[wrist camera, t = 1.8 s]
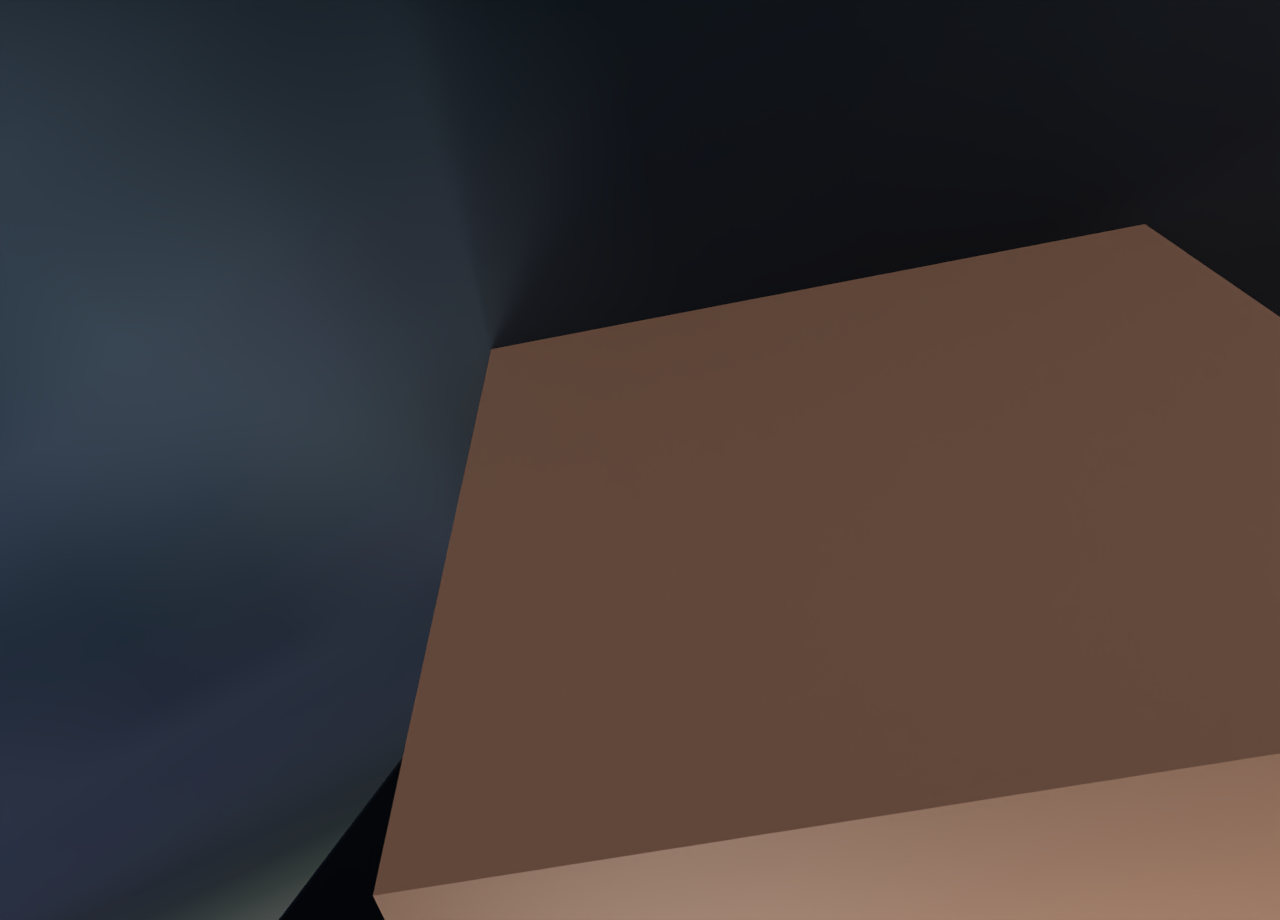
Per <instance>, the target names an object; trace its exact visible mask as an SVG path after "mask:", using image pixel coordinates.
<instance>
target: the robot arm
mask: <svg viewBox="0 0 1280 920" xmlns="http://www.w3.org/2000/svg"><path fill="white" fill-rule="evenodd" d="M402 759H403V757H402V758H401V760H400V761H399V762H398V764H397V765H396V766H395V768H394V769H393V770H392V772H391V773H390V774H389V776H388V777H387V778H386V780H385V781H384V782H383V783H382V785H381V786H380V787H379V789H378V790H377V791H376V793H375V794H374V795H373V797H372V798H371V799H370V801H369V802H368V803H367V805H366V806H365V807H364V808H363V810H362V811H361V812H360V814H359V815H358V816H357V818H356V819H355V820H354V822H353V823H352V824H351V826H350V827H349V828H348V830H347V831H346V832H345V833H344V835H343V836H342V837H341V839H340V840H339V841H338V843H337V844H336V845H335V847H334V848H333V849H332V851H331V852H330V853H329V855H328V856H327V857H326V858H325V860H324V861H323V862H322V864H321V865H320V866H319V868H318V869H317V870H316V872H315V873H314V874H313V876H312V877H311V878H310V880H309V881H308V882H307V883H306V885H305V886H304V887H303V889H302V890H301V891H300V893H299V894H298V895H297V897H296V898H295V899H294V901H293V902H292V903H291V904H290V906H289V907H288V908H287V910H286V911H285V912H284V914H283V915H282V916H281V918H280V919H279V920H385V919H384V917H383V915H382V913H381V911H380V909H379V907H378V905H377V903H376V901H375V899H374V897H373V893H374V889H375V884H376V879H377V875H378V870H379V865H380V861H381V856H382V852H383V847H384V842H385V838H386V833H387V829H388V824H389V819H390V815H391V810H392V805H393V801H394V796H395V792H396V787H397V782H398V778H399V773H400V768H401V764H402Z"/></svg>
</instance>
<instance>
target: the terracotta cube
mask: <svg viewBox="0 0 1280 920" xmlns="http://www.w3.org/2000/svg"><path fill="white" fill-rule="evenodd" d="M373 897H374V899H375V901H376V903H377V905H378V907H379V909H380V911H381V913H382V915H383V917H384V919H385V920H1280V317H1279V316H1278V315H1276V314H1275V313H1273V312H1272V311H1270V310H1269V309H1268V308H1266V307H1265V306H1263V305H1262V304H1260V303H1259V302H1257V301H1256V300H1255V299H1253V298H1252V297H1250V296H1249V295H1247V294H1246V293H1244V292H1243V291H1241V290H1240V289H1239V288H1237V287H1236V286H1234V285H1233V284H1231V283H1230V282H1228V281H1227V280H1225V279H1224V278H1223V277H1221V276H1220V275H1218V274H1217V273H1215V272H1214V271H1212V270H1211V269H1209V268H1208V267H1207V266H1205V265H1204V264H1202V263H1201V262H1199V261H1198V260H1196V259H1195V258H1193V257H1192V256H1191V255H1189V254H1188V253H1186V252H1185V251H1183V250H1182V249H1180V248H1179V247H1177V246H1176V245H1175V244H1173V243H1172V242H1170V241H1169V240H1167V239H1166V238H1164V237H1163V236H1161V235H1160V234H1159V233H1157V232H1156V231H1154V230H1153V229H1151V228H1150V227H1148V226H1147V225H1145V224H1143V225H1138V226H1132V227H1127V228H1122V229H1117V230H1111V231H1106V232H1101V233H1096V234H1091V235H1085V236H1080V237H1075V238H1070V239H1064V240H1059V241H1054V242H1049V243H1044V244H1038V245H1033V246H1028V247H1023V248H1017V249H1012V250H1007V251H1002V252H997V253H991V254H986V255H981V256H976V257H970V258H965V259H960V260H955V261H950V262H944V263H939V264H934V265H929V266H923V267H918V268H913V269H908V270H903V271H897V272H892V273H887V274H882V275H876V276H871V277H866V278H861V279H856V280H850V281H845V282H840V283H835V284H829V285H824V286H819V287H814V288H809V289H803V290H798V291H793V292H788V293H783V294H777V295H772V296H767V297H762V298H756V299H751V300H746V301H741V302H736V303H730V304H725V305H720V306H715V307H709V308H704V309H699V310H694V311H689V312H683V313H678V314H673V315H668V316H662V317H657V318H652V319H647V320H642V321H636V322H631V323H626V324H621V325H615V326H610V327H605V328H600V329H595V330H589V331H584V332H579V333H574V334H568V335H563V336H558V337H553V338H548V339H542V340H537V341H532V342H527V343H521V344H516V345H511V346H506V347H501V348H495V349H491V353H490V357H489V362H488V366H487V371H486V376H485V380H484V385H483V390H482V394H481V399H480V403H479V408H478V413H477V417H476V422H475V427H474V431H473V436H472V440H471V445H470V450H469V454H468V459H467V463H466V468H465V473H464V477H463V482H462V487H461V491H460V496H459V500H458V505H457V510H456V514H455V519H454V524H453V528H452V533H451V537H450V542H449V547H448V551H447V556H446V561H445V565H444V570H443V574H442V579H441V584H440V588H439V593H438V597H437V602H436V607H435V611H434V616H433V621H432V625H431V630H430V634H429V639H428V644H427V648H426V653H425V658H424V662H423V667H422V671H421V676H420V681H419V685H418V690H417V695H416V699H415V704H414V708H413V713H412V718H411V722H410V727H409V731H408V736H407V741H406V745H405V750H404V755H403V759H402V764H401V768H400V773H399V778H398V782H397V787H396V792H395V796H394V801H393V805H392V810H391V815H390V819H389V824H388V829H387V833H386V838H385V842H384V847H383V852H382V856H381V861H380V865H379V870H378V875H377V879H376V884H375V889H374V893H373Z"/></svg>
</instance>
